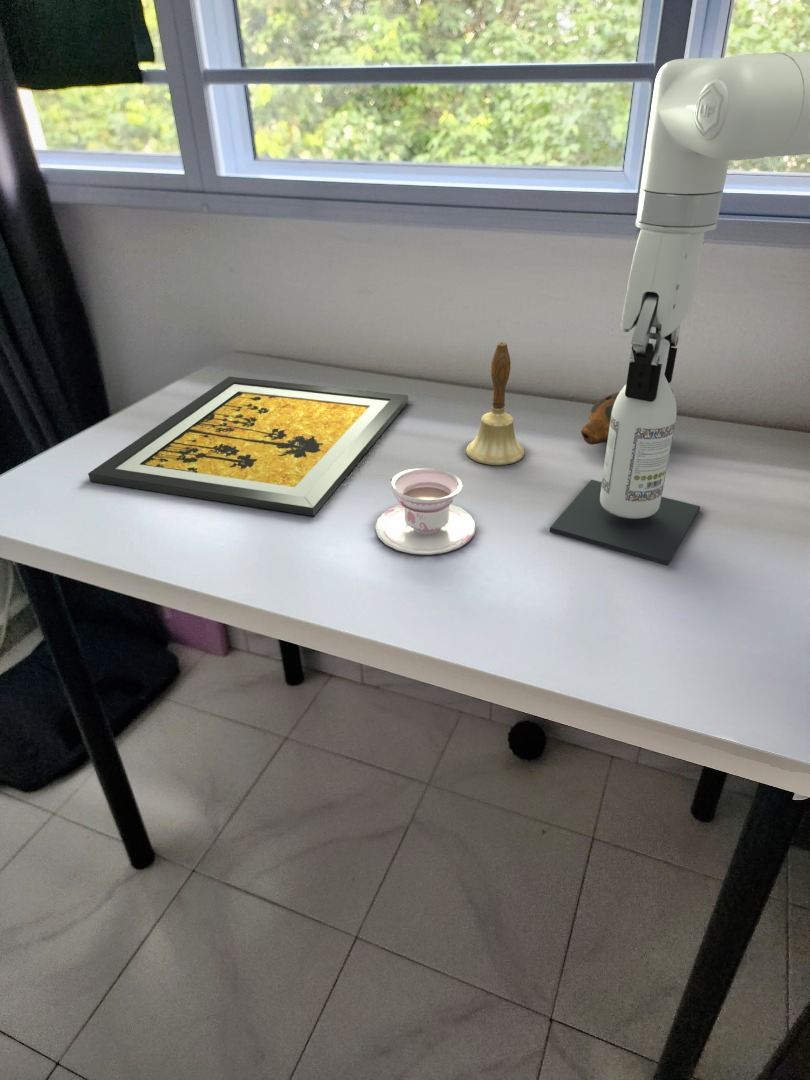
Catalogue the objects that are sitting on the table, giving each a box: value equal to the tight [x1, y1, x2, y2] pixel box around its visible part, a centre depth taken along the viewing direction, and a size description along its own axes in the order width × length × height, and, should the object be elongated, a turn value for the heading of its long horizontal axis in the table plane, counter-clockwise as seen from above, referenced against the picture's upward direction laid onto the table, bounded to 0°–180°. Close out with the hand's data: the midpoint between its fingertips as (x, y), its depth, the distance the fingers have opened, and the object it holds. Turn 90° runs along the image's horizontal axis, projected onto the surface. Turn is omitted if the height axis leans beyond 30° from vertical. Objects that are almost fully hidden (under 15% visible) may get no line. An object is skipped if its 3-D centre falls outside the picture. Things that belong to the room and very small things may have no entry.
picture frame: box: [87, 376, 409, 517], centre depth 112 cm, size 38×1×33 cm
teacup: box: [374, 467, 476, 556], centre depth 88 cm, size 12×12×6 cm
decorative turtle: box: [580, 389, 674, 445], centre depth 107 cm, size 10×15×8 cm, turn 122°
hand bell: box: [465, 341, 525, 466], centre depth 103 cm, size 8×8×16 cm
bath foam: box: [600, 339, 678, 519], centre depth 84 cm, size 7×7×20 cm
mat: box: [549, 479, 701, 566], centre depth 91 cm, size 14×14×1 cm
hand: (648, 388), depth 82 cm, fingers closed on bath foam, 5 cm apart
